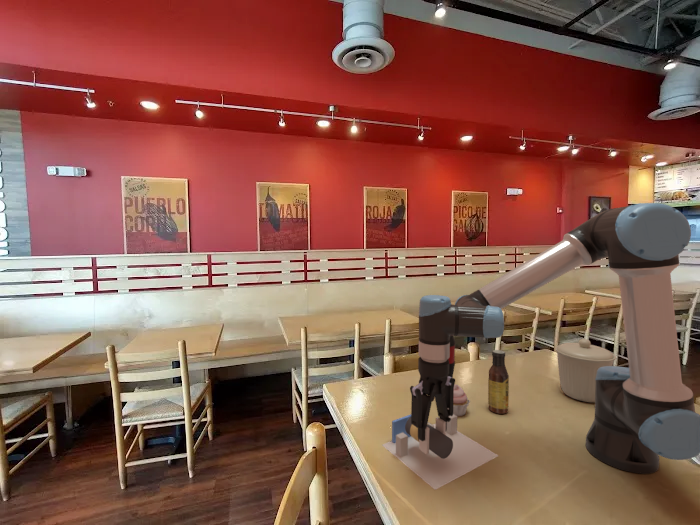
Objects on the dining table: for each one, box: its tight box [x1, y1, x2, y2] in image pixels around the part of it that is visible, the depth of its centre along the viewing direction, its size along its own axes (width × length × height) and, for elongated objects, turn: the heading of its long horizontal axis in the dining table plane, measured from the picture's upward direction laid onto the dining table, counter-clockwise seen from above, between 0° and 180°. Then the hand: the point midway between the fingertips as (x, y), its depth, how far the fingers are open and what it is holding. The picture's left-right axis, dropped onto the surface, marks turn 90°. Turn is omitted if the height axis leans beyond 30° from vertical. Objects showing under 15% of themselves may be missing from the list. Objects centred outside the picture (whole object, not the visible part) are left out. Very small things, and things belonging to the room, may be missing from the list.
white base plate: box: [381, 413, 500, 491], centre depth 91 cm, size 20×23×7 cm
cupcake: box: [448, 383, 471, 417], centre depth 111 cm, size 9×9×10 cm
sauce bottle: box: [487, 349, 510, 415], centre depth 113 cm, size 7×6×20 cm
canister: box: [554, 338, 617, 404], centre depth 123 cm, size 18×18×21 cm
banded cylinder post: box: [405, 417, 453, 459], centre depth 87 cm, size 12×5×5 cm, turn 32°
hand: (432, 447), depth 86 cm, fingers closed on banded cylinder post, 5 cm apart
